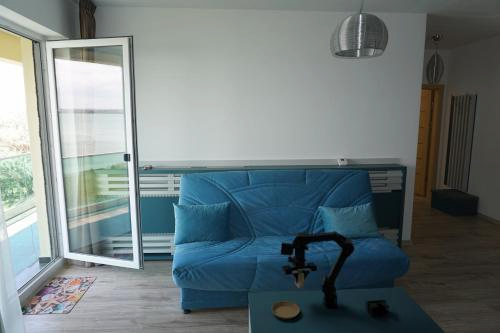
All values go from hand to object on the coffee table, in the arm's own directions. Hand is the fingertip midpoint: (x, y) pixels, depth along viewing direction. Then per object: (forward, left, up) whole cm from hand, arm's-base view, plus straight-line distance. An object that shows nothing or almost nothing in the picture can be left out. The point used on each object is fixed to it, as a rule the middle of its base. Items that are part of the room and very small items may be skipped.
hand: (299, 282), depth 184 cm
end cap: (-35, +21, -12) cm, 43 cm away
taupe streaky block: (0, 0, -2) cm, 2 cm away
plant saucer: (+11, +8, -12) cm, 18 cm away
